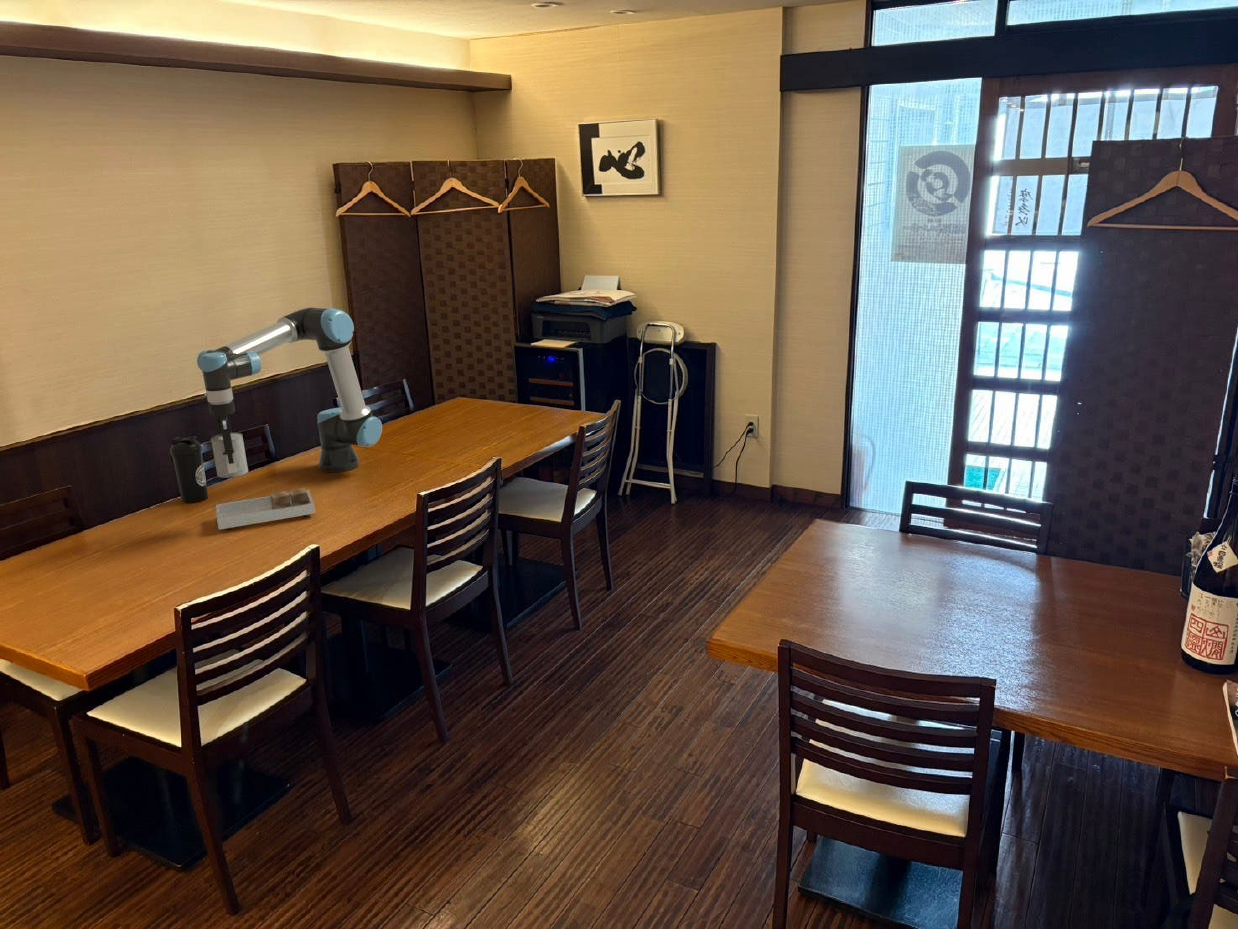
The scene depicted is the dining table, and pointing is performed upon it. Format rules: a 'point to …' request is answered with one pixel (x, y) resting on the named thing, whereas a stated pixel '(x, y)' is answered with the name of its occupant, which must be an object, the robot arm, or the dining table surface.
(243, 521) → the tray
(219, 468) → the grey cylinder
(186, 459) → the water bottle
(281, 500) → the walnut block
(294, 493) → the walnut block
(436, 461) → the dining table surface
